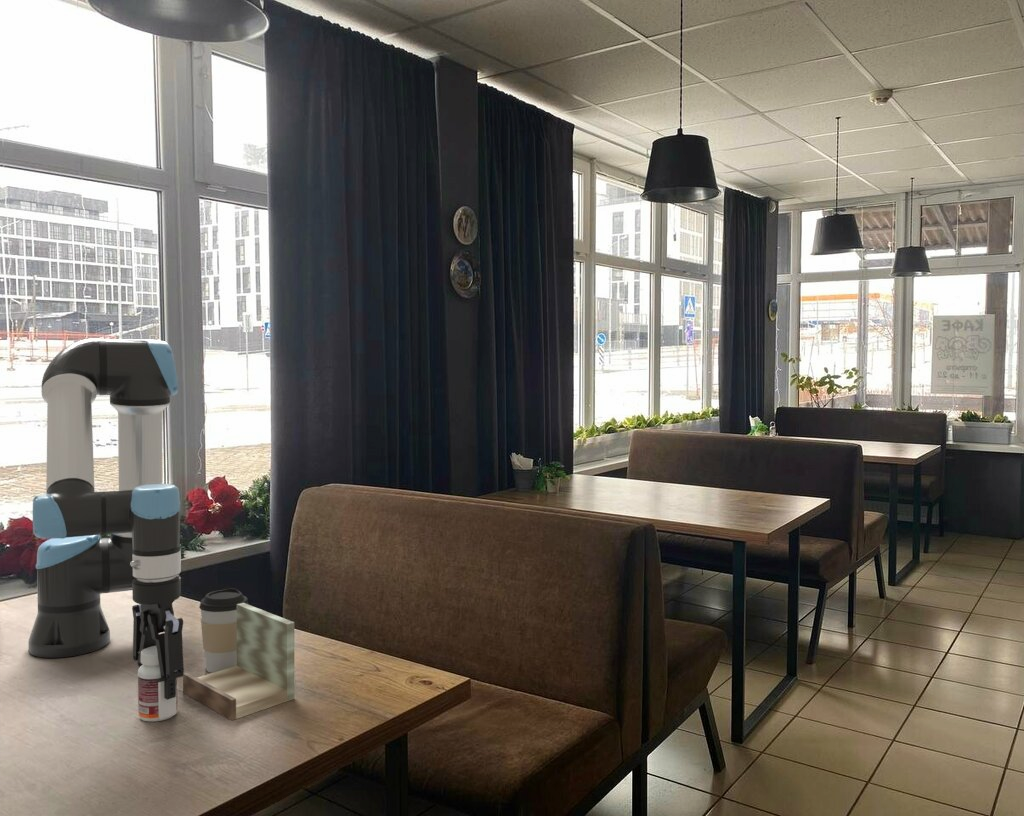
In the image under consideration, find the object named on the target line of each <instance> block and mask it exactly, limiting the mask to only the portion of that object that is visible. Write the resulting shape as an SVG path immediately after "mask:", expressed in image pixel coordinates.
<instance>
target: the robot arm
mask: <svg viewBox="0 0 1024 816" xmlns="http://www.w3.org/2000/svg"><path fill="white" fill-rule="evenodd" d="M177 375H178V374H177V369H176V363H175V358H174V353H173V350H172V347H171V345H170V344H169V343H168V342H167V341H164V340H155V339H147V338H143V339H141V338H140V339H139V338H137V339H136V338H134V339H133V338H86V339H81V340H77V341H76V342H74V343H72V344H70V345H68V346H66V347H65V348H63V349H62V350H61V351H59V352H58V354H56V356H55V357H53V359H52V360H50V362H49V364H48V365H47V367H46V369H45V372H44V374H43V375H42V380H41V397H42V399H43V400H44V402H45V403H46V405H47V406H46V407H47V410H46V411H47V412H46V416H47V419H46V420H47V421H46V486H45V487H46V489H45V493H44V494H38V495H36V496H34V498H33V500H32V532H33V535H34V536H35V537H36V538H38V539H43V540H44V539H47V540H45V541H44V542H42V543H41V544H40V545H39V546H38V548H37V553H36V563H35V569H36V570H37V571H36V572H37V573H36V575H37V578H36V579H37V591H36V593H37V614H36V618H35V620H34V623H33V626H32V629H31V632H30V635H29V638H28V645H27V646H28V653H29V654H30V655H32V656H34V657H38V658H45V659H46V658H49V659H50V658H51V659H53V658H54V659H55V658H56V659H58V658H67V657H74V656H75V657H76V656H80V655H85V654H88V653H92V652H95V651H97V650H100V649H103V648H104V647H106V646H107V645H108V644H110V642H111V630H110V627H109V623H108V621H107V619H106V615H104V611H103V609H102V606H101V595H102V594H109V593H119V592H129V591H131V593H132V601H133V602H134V603H136V604H134V605H132V606H131V608H132V609H131V610H132V616H133V617H132V618H133V628H132V629H133V630H132V631H133V632H132V633H133V634H132V661H133V662H137V667H138V669H139V668H140V666H142V665H143V664H141V651H142V650H143V649H145V648H148V647H151V646H156V647H157V654H158V660H159V667H160V673H161V678H158V679H157V681H158V707H159V718H160V719H163V718H166V717H169V716H172V715H174V716H175V715H177V712H176V678H177V679H178V678H181V677H183V675H184V673H185V672H184V670H185V668H184V651H183V649H184V648H183V627H184V620H183V618H182V617H179V618H176V617H175V612H174V606H173V602H175V601H176V600H178V599H179V598H180V597H181V595H182V592H181V591H182V588H181V587H182V586H181V585H182V582H181V581H182V580H181V579H182V577H181V576H180V573H181V571H182V570H181V569H182V568H181V567H182V564H181V563H182V562H181V561H182V557H181V554H182V553H181V552H182V551H181V550H182V549H181V543H180V542H181V541H180V540H181V507H182V503H181V496H180V490H179V487H177V485H174V484H170V483H163V412H164V410H165V409H166V408H167V407H168V406H169V405H171V396H172V397H173V396H175V395H177V394H178V393H179V392H178V391H179V388H178V376H177ZM97 396H109V405H111V407H112V408H114V409H115V411H117V419H118V420H117V421H118V422H117V432H118V433H117V438H118V441H117V444H118V446H117V447H118V449H117V450H118V454H117V455H118V460H117V461H118V490H111V491H110V490H109V491H107V490H106V491H95V469H94V468H95V465H94V464H95V463H94V462H95V461H94V443H93V441H94V440H93V439H94V438H93V437H94V436H93V434H94V433H93V412H92V411H93V409H92V407H93V406H92V404H93V402H94V401H95V400H96V397H97ZM101 535H110V536H109V537H104V538H103V537H101ZM172 717H173V716H172Z"/></svg>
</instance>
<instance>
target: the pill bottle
mask: <svg viewBox="0 0 1024 816" xmlns="http://www.w3.org/2000/svg"><path fill="white" fill-rule="evenodd" d="M141 664H143V665H142V666H140V668H139V667H138V670H137V697H138V698H137V699H138V701H137V703H138V705H137V706H138V718H139V719H140V720H141V721H143V722H150V723H151V722H161V721H166V720H168V719H170V718H172V717H174V716H175V715H172V716H169V717H166V718H163V719H160V718H159V707H158V681H157V679H158V678H161V673H160V667H159V660H158V654H157V647H156V646H151V647H148V648H145V649H143V650H142V651H141ZM177 712H178V678H176V713H177Z"/></svg>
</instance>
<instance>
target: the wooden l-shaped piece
mask: <svg viewBox="0 0 1024 816" xmlns="http://www.w3.org/2000/svg"><path fill="white" fill-rule="evenodd" d="M182 693H183V694H185V695H187V696H188V697H189V698H192V699H193V700H195V701H198V703H201V704H203V706H206V707H207V708H210V709H211V710H213V711H215V712H216V713H219V714H220V715H222V716H223V717H225V718H227V719H229V720H230V721H234V720H237V719H239V718H243V717H246V716H248V715H252V714H255V713H257V712H261V711H262V710H263V711H264V710H266V709H269V708H272V707H275V706H277V705H280V704H284V703H286V702H289V701H291V700H295V621H291V620H290V619H288V618H287V619H286V618H284V617H281V616H279V615H277V614H273V613H271V612H268V611H266V610H263V609H261V608H258V607H256V606H253V605H251V604H249V603H248V604H246V603H240V604H237V666H234V667H231V668H228V669H224V670H221V671H217V672H214V673H211V672H210V673H207V674H205V675H204V674H203V675H200V676H198V677H197V676H194V675H193V674H191V673H189V672H184V675H183V676H182Z"/></svg>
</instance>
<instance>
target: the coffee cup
mask: <svg viewBox="0 0 1024 816" xmlns="http://www.w3.org/2000/svg"><path fill="white" fill-rule="evenodd" d="M199 603H200V604H199V609H200V615H201V618H200V625H201V637H202V648H203V652H204V662H205V670H206V672H208V673H210V674H211V673H214V672H217V671H221V670H224V669H228V668H231V667H234V666H237V604H240V603H246V604H248V605H249V602H248V597H247V596H246V595H243V593H242V591H240V590H239V589H238V588H236V587H228V588H224V589H221V590H213V591H210V592H208V593H206V594H205V596H204V597H203V598H202V599H201V600H200V602H199Z"/></svg>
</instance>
